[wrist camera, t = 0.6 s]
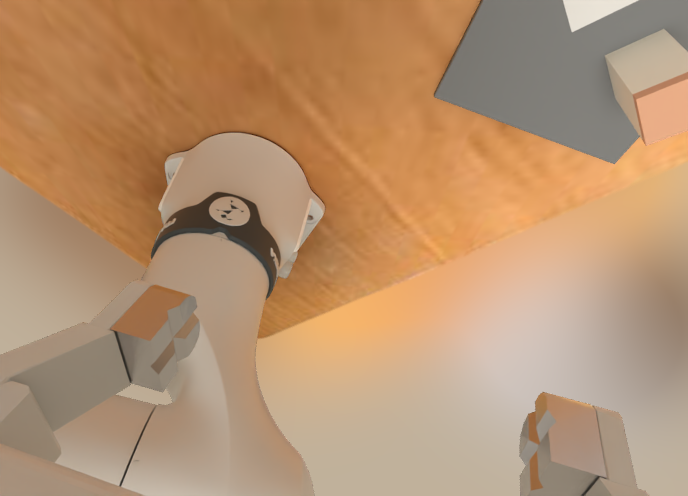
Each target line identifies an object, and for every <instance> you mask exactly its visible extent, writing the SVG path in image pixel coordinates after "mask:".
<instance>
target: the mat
mask: <svg viewBox="0 0 688 496" xmlns="http://www.w3.org/2000/svg"><path fill="white" fill-rule="evenodd" d="M662 29H665V30H666V31H667V32H668V33H669V34H670V35H671V36H672V37H673V38H674V39H675V40H676V41H677V42H678V43H679V44H680V45H681V46H682V47H683V48H684V49H685V50H686V51H687V52H688V0H481V2H480V4H479V6H478V8H477V10H476V12H475V14H474V16H473V18H472V20H471V22H470V24H469V26H468V28H467V30H466V32H465V34H464V36H463V38H462V40H461V42H460V44H459V46H458V48H457V50H456V52H455V54H454V55H453V57H452V59H451V61H450V63H449V65H448V67H447V69H446V71H445V73H444V75H443V77H442V79H441V81H440V83H439V85H438V87H437V89H436V91H435V93H434V97H435V98H438V99H441V100H443V101H446V102H449V103H451V104H454V105H457V106H459V107H462V108H465V109H468V110H470V111H473V112H476V113H478V114H481V115H484V116H486V117H489V118H492V119H494V120H497V121H500V122H502V123H505V124H508V125H511V126H513V127H516V128H519V129H521V130H524V131H527V132H529V133H532V134H535V135H537V136H540V137H543V138H546V139H548V140H551V141H554V142H556V143H559V144H562V145H564V146H567V147H570V148H572V149H575V150H578V151H580V152H583V153H586V154H589V155H591V156H594V157H597V158H599V159H602V160H605V161H607V162H610V163H613V164H615V163H616V162H617V161H618V160H619V159H620V157H621V156H622V155H623V154H624V153H625V152H626V151H627V150H628V149H629V148H630V146H631V145H632V144H633V143H634V142H635V141H636V140H637V139H638V138H639V137H640V136H639V134H638V133H637V131H636V130H635V128H634V126H633V125H632V123H631V122H630V120H629V119H628V117H627V116H626V114H625V113H624V111H623V109H622V108H621V106H620V105H619V103H618V102H617V100H616V99H615V95H614V91H613V87H612V83H611V79H610V75H609V71H608V67H607V63H606V59H605V55H607V54H609V53H611V52H613V51H616V50H618V49H620V48H622V47H624V46H627V45H629V44H631V43H633V42H636V41H638V40H640V39H642V38H644V37H647V36H649V35H651V34H653V33H656V32H658V31H660V30H662Z"/></svg>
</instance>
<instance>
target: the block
mask: <svg viewBox="0 0 688 496" xmlns="http://www.w3.org/2000/svg"><path fill="white" fill-rule="evenodd" d="M605 59H606V63H607V67H608V71H609V75H610V79H611V83H612V87H613V91H614V95H615V99H616V100H617V102H618V103H619V105H620V106H621V108H622V109H623V111H624V113H625V114H626V116H627V117H628V119H629V120H630V122H631V123H632V125H633V126H634V128H635V130H636V131H637V133H638V134H639V136H640V137H641V139H642V140H643V142H644V143H645V145H646V146H647V145H650V144H653V143H655V142H658V141H661V140H664V139H666V138H669V137H672V136H675V135H677V134H680V133H683V132H686V131H688V52H687V51H686V50H685V49H684V48H683V47H682V46H681V45H680V44H679V43H678V42H677V41H676V40H675V39H674V38H673V37H672V36H671V35H670V34H669V33H668V32H667V31H666V30H665V29H662V30H660V31H658V32H656V33H653V34H651V35H649V36H647V37H644V38H642V39H640V40H638V41H636V42H633V43H631V44H629V45H627V46H624V47H622V48H620V49H618V50H616V51H613V52H611V53H609V54H607V55H605Z"/></svg>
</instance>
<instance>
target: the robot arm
mask: <svg viewBox="0 0 688 496" xmlns="http://www.w3.org/2000/svg"><path fill="white" fill-rule="evenodd" d="M165 172H166V178H167V184H168V187H167V189H166V191H165V193H164V196H163V198H162V200H161V202H160V204H159V211H160V212H161V218H162V222H163V225H164V227H163V228H162V229H161V230H160V232H159V234H158V236H157V238H156V240H155V244H154V247H153V249H152V252H151V262H150V264H149V266H148V267H147V269H146V271H145V273H144V275H143V277H142V279H141V280H138V279H137V280H135V281H132V282H130V283H129V284H128V285H127V286H126V287H125V288H124V289H123V290H122V291H121V292H120V293H119V294H118V295H117V296H116V297H115V298H114V299H113V300H112V301H111V302H110V303H109V304H108V305H107V306H106V307H105V308H104V309H103V310H102V311H101V312H100V313H99V314H98V315H97V316H96V317H95V318H94V319H93V320H92V321H91V322H90V323H89V324H88V323H84V322H83V323H80V324H78V325H75V326H73V327H70V328H67V329H65V330H62V331H60V332H57V333H55V334H52V335H50V336H47V337H44V338H42V339H40V340H37V341H34V342H32V343H29V344H27V345H24V346H21V347H19V348H17V349H14V350H11V351H9V352H6V353H4V354H1V355H0V496H314V490H313V484H312V480H311V477H310V474H309V471H308V469H307V466H306V464H305V462H304V460H303V458H302V457H301V455H300V454H299V453H298V451H297V450H296V449H295V448H294V447H293V446H292V445H291V444H290V442H289V441H288V440H287V439H286V438H285V436H284V435H283V434H282V432H281V431H280V429H279V428H278V426H277V425H276V423H275V421H274V419H273V418H272V416H271V414H270V412H269V410H268V408H267V406H266V403H265V401H264V398H263V395H262V393H261V390H260V386H259V383H258V378H257V372H256V364H255V352H256V344H257V338H258V331H259V326H260V321H261V316H262V312H263V308H264V304H265V300H266V299H267V298H268V297H269V296H270V294H271V292H272V290H273V288H274V286H275V284H276V281H277V278H278V276H279V277H282V278H284V279H285V278H287V277H288V275H289V273H290V271H291V269H292V266H293V263H294V261H295V260H296V258H297V255H298V252H297V251H298V249H299V248H300V247H301V245H302V244H303V243H304V241H305V240H306V238H307V237H308V236H309V234H310V233H311V232H312V230H313V229H314V228H315V226H316V225H317V224H318V222H319V221H320V219H321V218H322V217H323V214H324V212H325V205H324V204H323V202H322V201H321V200H320V199H319V198H318V197H317V196H316V195H315V194H314V193H313V192H312V191H311V189H310V187H309V185H308V182H307V180H306V177H305V175H304V173H303V171H302V169H301V168H300V166H299V165H298V163H297V162H296V161H295V160H294V159H293V158H292V157H291V156H290V155H289V154H288V153H287V152H286V151H284V150H283V149H282V148H280V147H279V146H277V145H276V144H274V143H272V142H270V141H268V140H266V139H263V138H261V137H258V136H254V135H250V134H245V133H223V134H218V135H215V136H212V137H209V138H207V139H205V140H203V141H202V142H201V143H199V144H198V145H197V146H195V147H194V148H193V149H191V150H189V151H185V152H179V153H175V154H172V155H170V156H168V158H167V160H166V162H165ZM308 215H311V216H312V217H310V216H308ZM130 383H132V384H135V385H139V386H142V387H147V388H149V389H153V390H157V391H160V392H163V391H164V390H165V389H167V391H168V393H169V394H170V397H171V399H172V403H171V404H168V405H161V404H159V405H155V404H150V403H147V402H143V401H139V400H135V399H131V398H127V397H123V396H119V395H115V394H117V393H118V392H120V391H122V390H123V389H125V388H127V387H128V386H130V385H131V384H130ZM535 410H536V411H535V412H532V413H530V414H528V416H527V418H526V420H525V422H524V424H523V428H522V432H521V436H520V457H521V459H522V461H523V462H524V464H525V465H526V466H525V468H524V470H523V471H522V473H521V475H520V496H649V495H648V494H647V492H646V491H643V490H641V489H638V488H637V484H636V479H635V475H634V470H633V465H632V461H631V456H630V452H629V447H628V443H627V438H626V434H625V429H624V424H623V420H622V417H621V415H620V414H619V413H618V412H615V411H611V410H608V409H604V408H600V407H597V406H591V405H590V404H587V403H583V402H579V401H575V400H572V399H568V398H564V397H560V396H556V395H553V394H548V393H545V392H543V393H541V394H540V395H539V396H538V398H537V400H536V401H535Z"/></svg>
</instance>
